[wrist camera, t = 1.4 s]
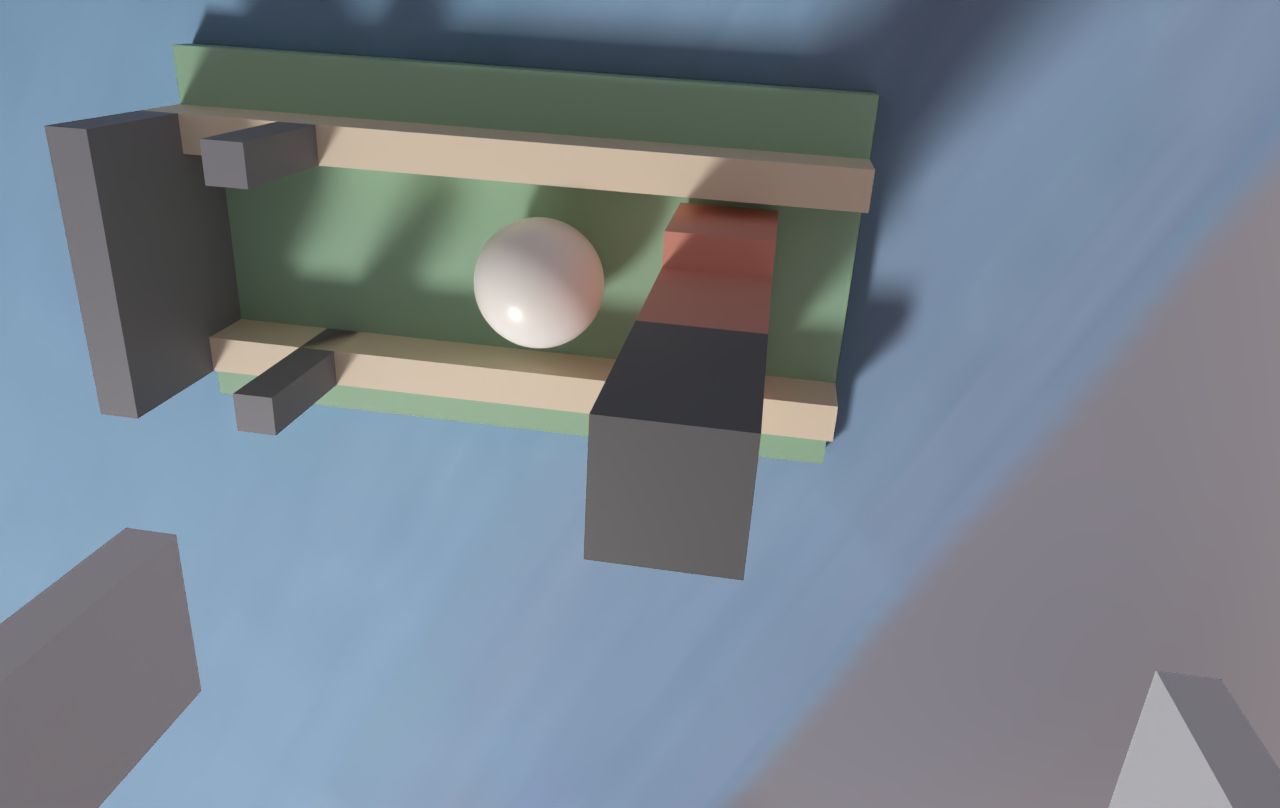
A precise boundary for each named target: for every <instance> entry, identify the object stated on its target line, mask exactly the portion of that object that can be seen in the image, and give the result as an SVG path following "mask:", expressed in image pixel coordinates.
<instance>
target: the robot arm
mask: <svg viewBox="0 0 1280 808" xmlns="http://www.w3.org/2000/svg"><path fill="white" fill-rule="evenodd" d="M200 691H201V685H200V679H199V673H198V667H197V660H196V654H195V648H194V642H193V636H192V629H191V623H190V617H189V611H188V605H187V598H186V592H185V586H184V580H183V574H182V568H181V561H180V555H179V549H178V543H177V537H176V535H174V534H167V533H160V532H153V531H145V530H138V529H131V528H125V529H124V530H123V531H121V532H120V533H119V534H117V535H116V536H115V537H113V538H112V539H111V540H109V541H108V542H107V543H106V544H104V545H103V546H102V547H100V548H99V549H98V550H96V551H95V552H94V553H92V554H91V555H90V556H89V557H87V558H86V559H85V560H83V561H82V562H81V563H79V564H78V565H77V566H75V567H74V568H73V569H72V570H70V571H69V572H68V573H66V574H65V575H64V576H62V577H61V578H60V579H58V580H57V581H56V582H55V583H53V584H52V585H51V586H49V587H48V588H47V589H45V590H44V591H43V592H41V593H40V594H39V595H38V596H36V597H35V598H34V599H32V600H31V601H30V602H28V603H27V604H26V605H24V606H23V607H22V608H21V609H19V610H18V611H17V612H15V613H14V614H13V615H11V616H10V617H9V618H7V619H6V620H5V621H4V622H2V623H1V624H0V808H98V807H99V806H100V805H101V804H102V803H103V802H104V801H105V800H106V798H107V797H108V796H109V795H110V794H111V793H112V792H113V790H114V789H115V788H116V787H117V786H118V785H119V784H120V782H121V781H122V780H123V779H124V778H125V777H126V776H127V775H128V773H129V772H130V771H131V770H132V769H133V768H134V767H135V765H136V764H137V763H138V762H139V761H140V760H141V759H142V757H143V756H144V755H145V754H146V753H147V752H148V751H149V749H150V748H151V747H152V746H153V745H154V744H155V743H156V742H157V740H158V739H159V738H160V737H161V736H162V735H163V734H164V732H165V731H166V730H167V729H168V728H169V727H170V726H171V724H172V723H173V722H174V721H175V720H176V719H177V718H178V716H179V715H180V714H181V713H182V712H183V711H184V710H185V709H186V707H187V706H188V705H189V704H190V703H191V702H192V701H193V699H194V698H195V697H196V696H197V695H198V694H199V693H200ZM1109 808H1280V769H1279V768H1278V766H1277V765H1276V763H1275V762H1274V760H1273V758H1272V757H1271V755H1270V754H1269V752H1268V751H1267V749H1266V748H1265V746H1264V744H1263V743H1262V741H1261V740H1260V738H1259V737H1258V735H1257V734H1256V732H1255V731H1254V729H1253V728H1252V726H1251V724H1250V723H1249V721H1248V720H1247V718H1246V717H1245V715H1244V714H1243V712H1242V711H1241V709H1240V708H1239V706H1238V704H1237V703H1236V701H1235V700H1234V698H1233V697H1232V695H1231V694H1230V692H1229V691H1228V689H1227V688H1226V686H1225V684H1224V683H1223V682H1222V680H1221V679H1214V678H1207V677H1199V676H1193V675H1185V674H1178V673H1171V672H1164V671H1156V672H1155V675H1154V678H1153V681H1152V683H1151V686H1150V690H1149V692H1148V695H1147V698H1146V701H1145V704H1144V707H1143V710H1142V712H1141V715H1140V718H1139V722H1138V724H1137V727H1136V730H1135V733H1134V736H1133V738H1132V741H1131V744H1130V747H1129V750H1128V753H1127V756H1126V759H1125V762H1124V765H1123V767H1122V770H1121V773H1120V776H1119V779H1118V782H1117V785H1116V788H1115V791H1114V793H1113V797H1112V799H1111V802H1110V805H1109Z"/></svg>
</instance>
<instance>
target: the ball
mask: <svg viewBox="0 0 1280 808" xmlns="http://www.w3.org/2000/svg"><path fill="white" fill-rule="evenodd" d="M473 282H474V293H475V298H476V302H477V304H478V307H479V309H480V311H481V313H482V315H483V317H484V318H485V320H486V321H487V322H488V324H489V325H490V326H491V327H492V328H493V329H494V330H495V331H496V332H497V333H498V334H500V335H501V336H502V337H504V338H505V339H507V340H509V341H511V342H513V343H515V344H517V345H521V346H524V347H529V348H551V347H555V346H559V345H562V344H565V343H567V342H569V341H571V340H573V339H574V338H576V337H577V336H579V335H580V334H581V333H582V332H583V331H584V330H585V329H587V327H588V326H589V325H590V324H591V323H592V321H593V320H594V318H595V317H596V315H597V313H598V311H599V308H600V306H601V303H602V299H603V295H604V273H603V267H602V264H601V261H600V258H599V256H598V254H597V252H596V250H595V249H594V247H593V246H592V244H591V243H590V242H589V240H588V239H587V238H586V237H585V236H584V235H583V234H582V233H580V232H579V231H578V230H577V229H575V228H574V227H572V226H570V225H569V224H566V223H564V222H562V221H559V220H556V219H552V218H546V217H531V218H524V219H520V220H517V221H515V222H512V223H510V224H508V225H506V226H505V227H503V228H501V229H500V230H499V231H497V232H496V233H495V234H494V235H493V236H492V237H491V238H490V239H489V240H488V241H487V243H486V244H485V246H484V247H483V248H482V250H481V252H480V254H479V257H478V259H477V262H476V265H475V270H474V281H473Z"/></svg>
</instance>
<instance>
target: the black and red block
mask: <svg viewBox="0 0 1280 808" xmlns="http://www.w3.org/2000/svg"><path fill="white" fill-rule="evenodd" d="M777 225H778V211H773V210H761V209H750V208H738V207H727V206H715V205H704V204H692V203H680V205H679V206H678V208H677V210H676V212H675V213H674V215H673V217H672V219H671V220H670V222H669V224H668V226H667V228H666V229H665V231H664V245H663V260H662V268H661V270H660V272H659V274H658V276H657V278H656V280H655V282H654V284H653V286H652V289H651V291H650V293H649V295H648V297H647V299H646V301H645V303H644V305H643V307H642V309H641V311H640V313H639V315H638V317H637V319H636V321H635V323H634V325H633V327H632V329H631V331H630V333H629V335H628V337H627V339H626V341H625V343H624V345H623V347H622V349H621V351H620V353H619V355H618V357H617V359H616V361H615V363H614V365H613V367H612V369H611V371H610V373H609V375H608V377H607V379H606V381H605V383H604V385H603V387H602V389H601V391H600V393H599V395H598V397H597V399H596V401H595V403H594V405H593V407H592V410H591V412H590V414H589V434H588V460H587V486H586V513H585V539H584V559H586V560H594V561H601V562H609V563H616V564H624V565H631V566H639V567H646V568H654V569H661V570H669V571H676V572H684V573H691V574H699V575H706V576H714V577H722V578H729V579H737V580H743V579H744V571H745V563H746V554H747V546H748V538H749V530H750V521H751V513H752V505H753V497H754V489H755V480H756V472H757V464H758V456H759V447H760V439H761V429H762V415H763V401H764V386H765V372H766V358H767V344H768V330H769V316H770V301H771V287H772V275H773V266H774V258H775V250H776V241H777Z"/></svg>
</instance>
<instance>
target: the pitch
mask: <svg viewBox="0 0 1280 808" xmlns="http://www.w3.org/2000/svg"><path fill="white" fill-rule="evenodd" d="M172 46H173V53H174V60H175V67H176V75H177V82H178V89H179V97H180V104H178V105H172V106H166V107H160V108H153V109H147V110H141V111H134V112H128V113H122V114H116V115H109V116H103V117H97V118H91V119H84V120H78V121H72V122H66V123H59V124H53V125H47V126H45V131H46V136H47V141H48V146H49V151H50V156H51V161H52V166H53V171H54V177H55V182H56V187H57V192H58V197H59V202H60V207H61V212H62V217H63V222H64V228H65V233H66V238H67V243H68V248H69V253H70V258H71V263H72V268H73V273H74V278H75V284H76V289H77V294H78V299H79V304H80V309H81V314H82V319H83V324H84V329H85V334H86V340H87V345H88V350H89V355H90V360H91V365H92V370H93V375H94V380H95V385H96V391H97V396H98V401H99V406H100V411H101V414H106V415H114V416H122V417H130V418H139V417H141V416H143V415H144V414H146V413H147V412H149V411H150V410H152V409H154V408H155V407H157V406H158V405H160V404H162V403H163V402H165V401H166V400H168V399H169V398H171V397H173V396H174V395H176V394H177V393H179V392H181V391H182V390H184V389H185V388H187V387H189V386H190V385H192V384H193V383H195V382H196V381H198V380H200V379H201V378H203V377H204V376H206V375H208V374H209V373H211V372H212V371H217V372H218V380H219V387H220V393H224V394H232V395H233V398H234V406H235V413H236V421H237V428H238V431H245V432H253V433H261V434H269V435H277V434H278V433H279V432H281V431H282V430H283V429H284V428H285V427H287V426H288V425H289V424H290V423H291V422H293V421H294V420H295V419H296V418H297V417H299V416H300V415H301V414H302V413H303V412H305V411H306V410H307V409H308V408H309V407H311V406H312V405H313V404H317V405H326V406H334V407H343V408H351V409H360V410H368V411H377V412H385V413H394V414H402V415H411V416H419V417H428V418H436V419H445V420H453V421H462V422H470V423H479V424H487V425H496V426H504V427H513V428H521V429H530V430H538V431H547V432H556V433H564V434H573V435H581V436H588V434H589V414H590V412H591V410H592V407H593V405H594V403H595V401H596V399H597V397H598V395H599V393H600V391H601V389H602V387H603V385H604V383H605V381H606V379H607V377H608V375H609V373H610V371H611V369H612V367H613V365H614V363H615V361H616V359H617V357H618V355H619V353H620V351H621V349H622V347H623V345H624V343H625V341H626V339H627V337H628V335H629V333H630V331H631V329H632V327H633V325H634V323H635V321H636V319H637V317H638V315H639V313H640V311H641V309H642V307H643V305H644V303H645V301H646V299H647V297H648V295H649V293H650V291H651V289H652V286H653V284H654V282H655V280H656V278H657V276H658V274H659V272H660V270H661V268H662V260H663V245H664V231H665V229H666V228H667V226H668V224H669V222H670V220H671V219H672V217H673V215H674V213H675V212H676V210H677V208H678V206H679V205H680V203H692V204H704V205H715V206H727V207H738V208H750V209H761V210H773V211H778V225H777V241H776V250H775V258H774V266H773V275H772V287H771V301H770V316H769V330H768V344H767V358H766V372H765V386H764V401H763V415H762V429H761V439H760V447H759V456H760V457H768V458H777V459H785V460H794V461H802V462H811V463H819V464H823V460H824V453H825V447H826V441H831V442H833V437H834V430H835V424H836V417H837V411H838V401H837V393H836V384H835V382H836V375H837V369H838V362H839V356H840V349H841V343H842V336H843V330H844V323H845V317H846V310H847V304H848V297H849V291H850V284H851V278H852V271H853V265H854V258H855V252H856V245H857V239H858V232H859V226H860V219H861V213H869V207H870V201H871V194H872V188H873V182H874V175H875V168H874V167H873V165H872V163H871V161H870V154H871V148H872V141H873V135H874V128H875V122H876V115H877V109H878V102H879V95H878V94H877V93H873V92H859V91H845V90H831V89H817V88H803V87H789V86H775V85H761V84H747V83H733V82H720V81H706V80H692V79H678V78H664V77H650V76H636V75H622V74H608V73H594V72H580V71H566V70H552V69H538V68H525V67H511V66H497V65H483V64H469V63H455V62H441V61H427V60H413V59H399V58H385V57H371V56H357V55H343V54H329V53H316V52H302V51H288V50H274V49H260V48H246V47H232V46H218V45H204V44H176V45H172ZM531 217H546V218H552V219H556V220H559V221H562V222H564V223H566V224H569V225H570V226H572V227H574V228H575V229H577V230H578V231H579V232H580V233H582V234H583V235H584V236H585V237H586V238H587V239H588V240H589V242H590V243H591V244H592V246H593V247H594V249H595V250H596V252H597V254H598V256H599V258H600V261H601V264H602V267H603V273H604V295H603V299H602V303H601V306H600V308H599V311H598V313H597V315H596V317H595V318H594V320H593V321H592V323H591V324H590V325H589V326H588V327H587V329H585V330H584V331H583V332H582V333H581V334H580V335H579V336H577V337H576V338H574V339H573V340H571V341H569V342H567V343H565V344H562V345H559V346H555V347H551V348H529V347H524V346H521V345H517V344H515V343H513V342H511V341H509V340H507V339H505V338H504V337H502V336H501V335H500V334H498V333H497V332H496V331H495V330H494V329H493V328H492V327H491V326H490V325H489V324H488V322H487V321H486V320H485V318H484V317H483V315H482V313H481V311H480V309H479V307H478V304H477V302H476V298H475V293H474V282H473V281H474V270H475V265H476V262H477V259H478V257H479V254H480V252H481V250H482V248H483V247H484V246H485V244H486V243H487V241H488V240H489V239H490V238H491V237H492V236H493V235H494V234H495V233H496V232H497V231H499V230H500V229H501V228H503V227H505V226H506V225H508V224H510V223H512V222H515V221H517V220H520V219H524V218H531Z"/></svg>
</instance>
